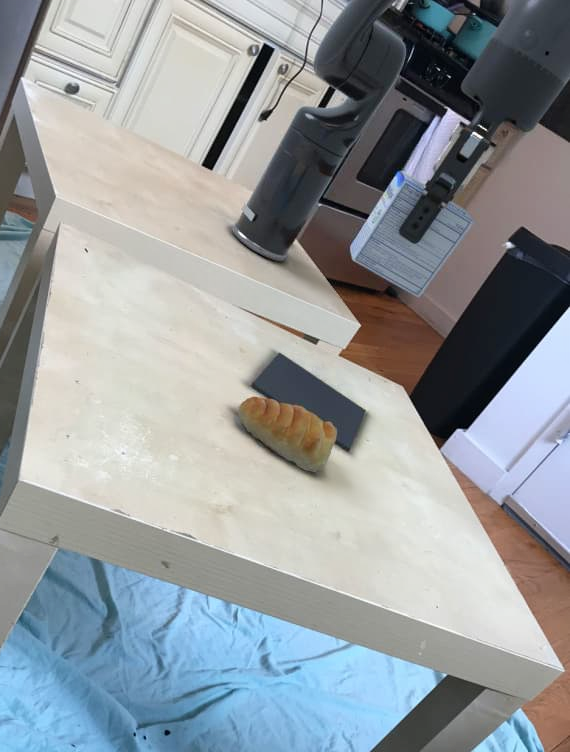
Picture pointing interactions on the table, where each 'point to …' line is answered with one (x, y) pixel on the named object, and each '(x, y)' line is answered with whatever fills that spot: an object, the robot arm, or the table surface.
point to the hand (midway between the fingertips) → (409, 234)
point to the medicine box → (395, 253)
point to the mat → (310, 397)
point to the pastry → (289, 431)
